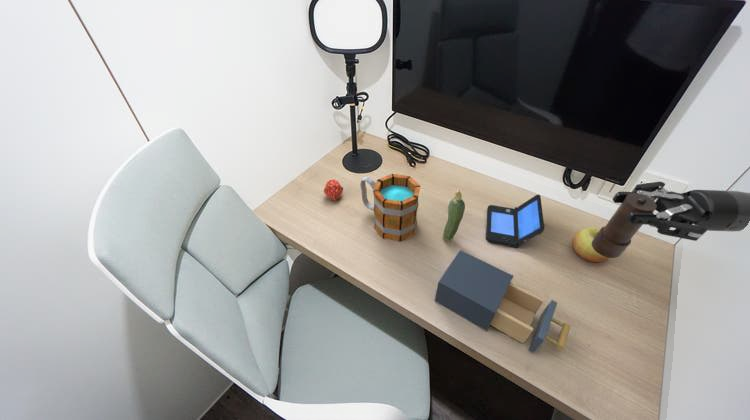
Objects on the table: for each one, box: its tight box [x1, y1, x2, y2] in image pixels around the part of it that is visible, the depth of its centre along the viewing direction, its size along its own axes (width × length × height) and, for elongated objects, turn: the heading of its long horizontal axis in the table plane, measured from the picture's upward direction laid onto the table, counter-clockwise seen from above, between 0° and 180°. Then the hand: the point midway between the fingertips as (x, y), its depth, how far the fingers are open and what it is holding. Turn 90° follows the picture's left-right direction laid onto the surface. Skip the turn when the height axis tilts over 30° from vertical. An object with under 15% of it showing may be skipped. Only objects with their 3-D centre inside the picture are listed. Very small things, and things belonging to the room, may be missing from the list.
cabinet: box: [434, 249, 514, 332], centre depth 76 cm, size 14×12×9 cm
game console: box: [485, 194, 545, 249], centre depth 93 cm, size 16×13×9 cm
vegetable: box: [442, 189, 466, 242], centre depth 86 cm, size 4×4×20 cm
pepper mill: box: [592, 193, 657, 259], centre depth 63 cm, size 6×6×14 cm
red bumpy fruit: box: [323, 179, 344, 201], centre depth 106 cm, size 6×7×8 cm
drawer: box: [489, 281, 571, 354], centre depth 71 cm, size 17×10×7 cm, turn 54°
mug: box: [359, 173, 421, 242], centre depth 94 cm, size 20×14×15 cm
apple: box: [571, 226, 610, 263], centre depth 86 cm, size 10×10×8 cm
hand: (622, 207), depth 59 cm, fingers closed on pepper mill, 5 cm apart
